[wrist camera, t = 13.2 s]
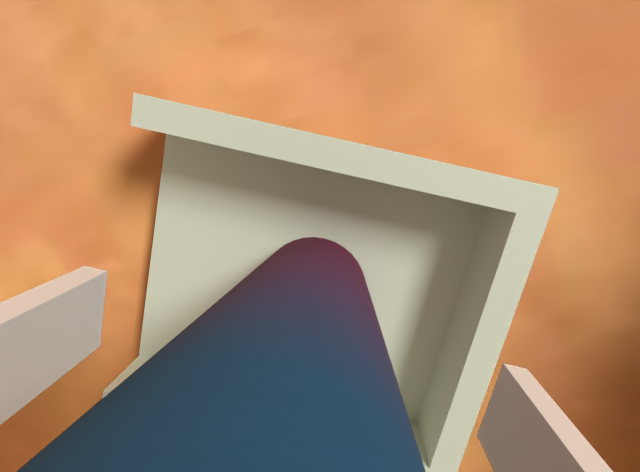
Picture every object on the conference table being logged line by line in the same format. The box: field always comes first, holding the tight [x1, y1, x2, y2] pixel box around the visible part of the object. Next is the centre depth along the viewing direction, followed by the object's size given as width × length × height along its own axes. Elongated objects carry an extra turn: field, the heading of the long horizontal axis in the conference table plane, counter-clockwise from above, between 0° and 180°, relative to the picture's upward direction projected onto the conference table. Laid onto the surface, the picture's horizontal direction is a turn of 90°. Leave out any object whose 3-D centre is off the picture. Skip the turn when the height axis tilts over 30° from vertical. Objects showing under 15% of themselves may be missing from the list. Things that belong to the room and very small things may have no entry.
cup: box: [17, 237, 426, 472], centre depth 11 cm, size 7×7×15 cm
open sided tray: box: [102, 93, 560, 472], centre depth 18 cm, size 14×16×4 cm
